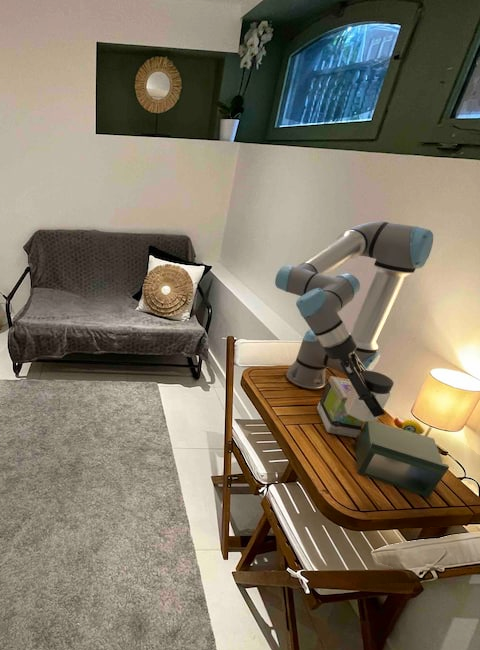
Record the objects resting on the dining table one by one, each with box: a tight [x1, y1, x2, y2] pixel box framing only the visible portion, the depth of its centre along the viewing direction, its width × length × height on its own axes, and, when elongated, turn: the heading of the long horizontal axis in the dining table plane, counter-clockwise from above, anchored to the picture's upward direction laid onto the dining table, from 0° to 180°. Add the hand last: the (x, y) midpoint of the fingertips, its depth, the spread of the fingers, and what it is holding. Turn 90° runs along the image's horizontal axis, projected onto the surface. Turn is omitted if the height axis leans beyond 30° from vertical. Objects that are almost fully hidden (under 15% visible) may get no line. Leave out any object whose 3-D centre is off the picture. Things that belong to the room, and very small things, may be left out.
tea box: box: [316, 375, 365, 438], centre depth 131 cm, size 15×10×15 cm, turn 168°
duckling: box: [393, 417, 425, 435], centre depth 123 cm, size 11×5×10 cm, turn 47°
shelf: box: [354, 421, 450, 498], centre depth 113 cm, size 16×18×12 cm
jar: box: [344, 370, 395, 423], centre depth 106 cm, size 9×8×12 cm
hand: (378, 406), depth 106 cm, fingers closed on jar, 9 cm apart
